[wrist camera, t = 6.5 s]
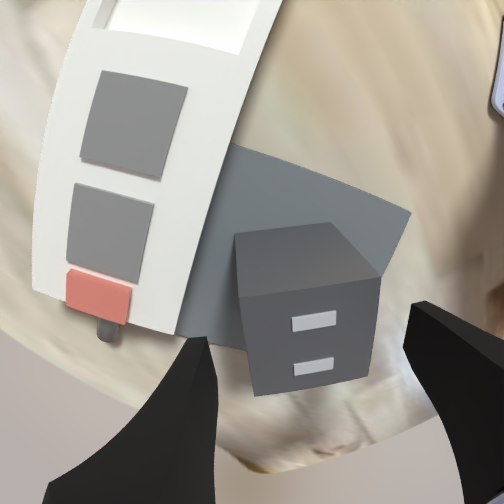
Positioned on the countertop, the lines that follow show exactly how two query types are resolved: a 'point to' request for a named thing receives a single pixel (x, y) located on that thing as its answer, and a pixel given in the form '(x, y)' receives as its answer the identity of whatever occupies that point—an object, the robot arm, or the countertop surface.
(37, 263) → the strip
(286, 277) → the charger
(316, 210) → the mat
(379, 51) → the countertop surface
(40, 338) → the countertop surface
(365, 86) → the countertop surface
